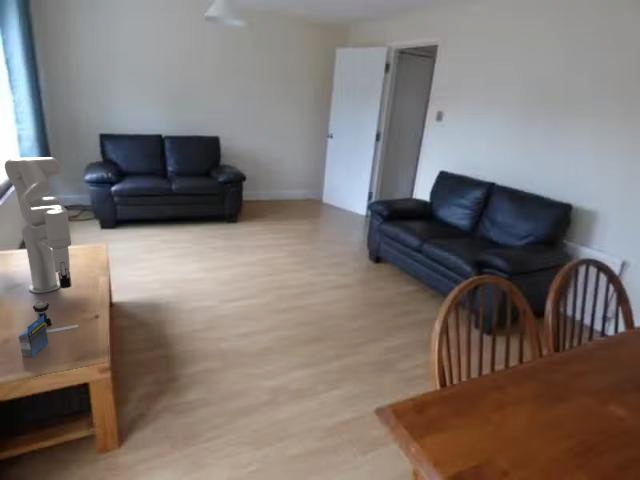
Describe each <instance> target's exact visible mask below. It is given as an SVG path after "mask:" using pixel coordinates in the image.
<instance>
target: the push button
mask: <svg viewBox="0 0 640 480" xmlns="http://www.w3.org/2000/svg"><path fill="white" fill-rule="evenodd" d="M49 307H50V304H49V303H48V302H46V301H39V302H36V303H35V304H34V305H33V306H32V309H33V310H34V312H35V313H36V320H38V319H39V318H40V317H42V316H43V315H44V321H45V327H46V328H47V327H50V326H52V319H50V316H49V313H48V311H49ZM38 323H39V322H38Z"/></svg>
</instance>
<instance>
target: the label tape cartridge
mask: <svg viewBox="0 0 640 480" xmlns="http://www.w3.org/2000/svg"><path fill="white" fill-rule="evenodd" d="M38 322H39V323H38ZM46 330H47V327H45V321H44V315H43V316H42V317H40V318H39V319H35V321H33V322H32V323H31V324H30V325H28V326H27V329H26V331H24V332H23V333H21V334H20V335H19V336H18V340H19V346H20V350H21V351H20V352H21V356H22V357H25V358H33V357H34V356H36V355H37V353H39V352H40V351H41V350H43V348H45V346H47V345H48V344H49V340H48V335H47V334H48V333H46Z"/></svg>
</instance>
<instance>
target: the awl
mask: <svg viewBox="0 0 640 480" xmlns="http://www.w3.org/2000/svg"><path fill="white" fill-rule="evenodd" d="M65 270H66V269H65ZM61 271H62V270H61ZM61 274H62V273H61ZM66 274H67V273H66ZM57 276H58V281H59V283H60V271H59V272H57ZM68 276H69V278H70V287H66V288H65V289H68V288H69V289H70V288H71V287H72V285H73V284H72V279H71V272H70V270H69V271H68ZM59 288H60V289H62V288H61V283H60V287H59Z"/></svg>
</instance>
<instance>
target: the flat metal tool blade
mask: <svg viewBox="0 0 640 480" xmlns="http://www.w3.org/2000/svg"><path fill="white" fill-rule="evenodd" d="M78 328H79V325H78V324H75V325H68V326H64V327H57V328H53V329H46V333H47V334H51V333H56V332H61V331H66V330H67V331H68V330H72V329H78Z"/></svg>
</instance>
